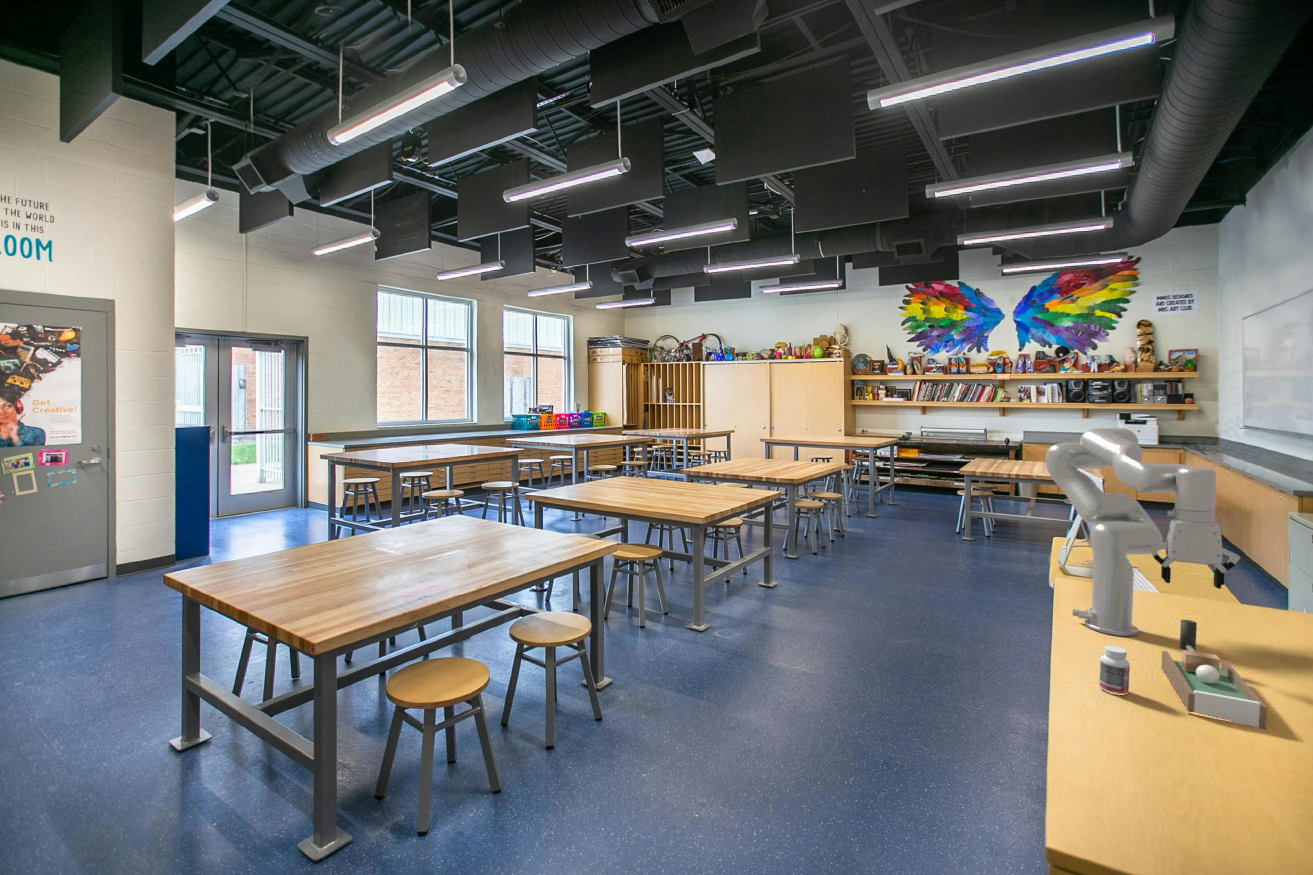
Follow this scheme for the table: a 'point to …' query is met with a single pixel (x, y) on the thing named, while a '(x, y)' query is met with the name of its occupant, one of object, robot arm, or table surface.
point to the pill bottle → (1114, 670)
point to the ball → (1207, 674)
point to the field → (1216, 694)
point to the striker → (1194, 649)
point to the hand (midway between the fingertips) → (1191, 584)
